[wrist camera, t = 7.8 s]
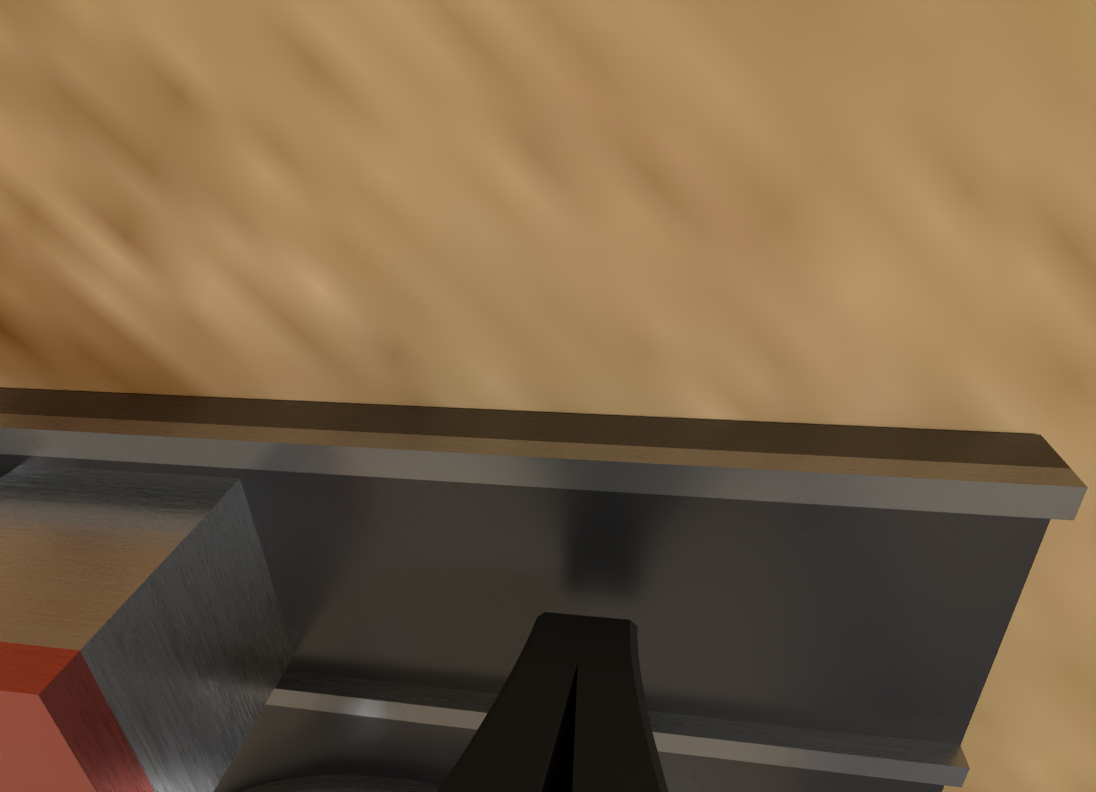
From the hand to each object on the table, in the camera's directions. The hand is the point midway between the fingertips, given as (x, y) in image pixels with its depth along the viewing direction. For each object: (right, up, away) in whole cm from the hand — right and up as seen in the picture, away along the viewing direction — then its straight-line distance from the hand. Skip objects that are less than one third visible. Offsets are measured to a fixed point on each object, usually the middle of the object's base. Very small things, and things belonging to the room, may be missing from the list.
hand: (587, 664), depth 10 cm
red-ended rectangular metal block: (-7, +1, +2) cm, 8 cm away
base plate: (-3, -6, +6) cm, 9 cm away
